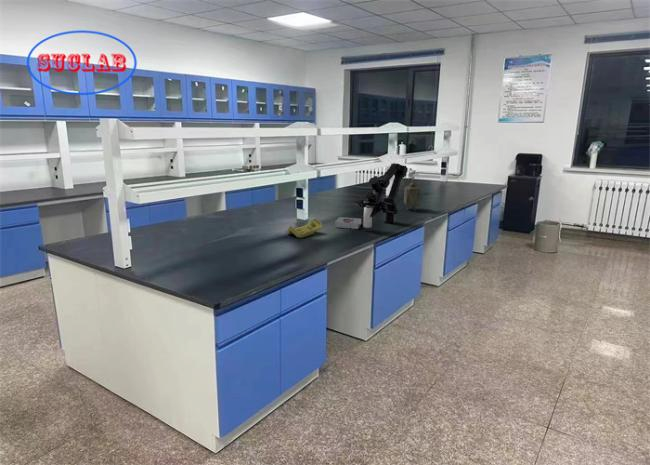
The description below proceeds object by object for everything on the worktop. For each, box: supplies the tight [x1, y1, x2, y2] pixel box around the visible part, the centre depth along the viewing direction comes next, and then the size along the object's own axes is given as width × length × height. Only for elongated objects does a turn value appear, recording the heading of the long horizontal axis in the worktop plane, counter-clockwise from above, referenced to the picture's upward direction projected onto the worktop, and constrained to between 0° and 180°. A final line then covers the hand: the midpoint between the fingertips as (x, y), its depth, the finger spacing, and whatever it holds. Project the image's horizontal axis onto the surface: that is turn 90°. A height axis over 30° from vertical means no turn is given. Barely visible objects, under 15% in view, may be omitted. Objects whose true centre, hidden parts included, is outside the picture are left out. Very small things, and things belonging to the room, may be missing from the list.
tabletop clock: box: [403, 176, 421, 212], centre depth 316 cm, size 14×9×25 cm, turn 179°
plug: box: [362, 205, 374, 229], centre depth 251 cm, size 5×5×12 cm
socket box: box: [334, 216, 362, 230], centre depth 264 cm, size 14×14×4 cm
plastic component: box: [286, 218, 323, 239], centre depth 243 cm, size 20×7×10 cm
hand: (366, 216), depth 250 cm, fingers closed on plug, 5 cm apart
